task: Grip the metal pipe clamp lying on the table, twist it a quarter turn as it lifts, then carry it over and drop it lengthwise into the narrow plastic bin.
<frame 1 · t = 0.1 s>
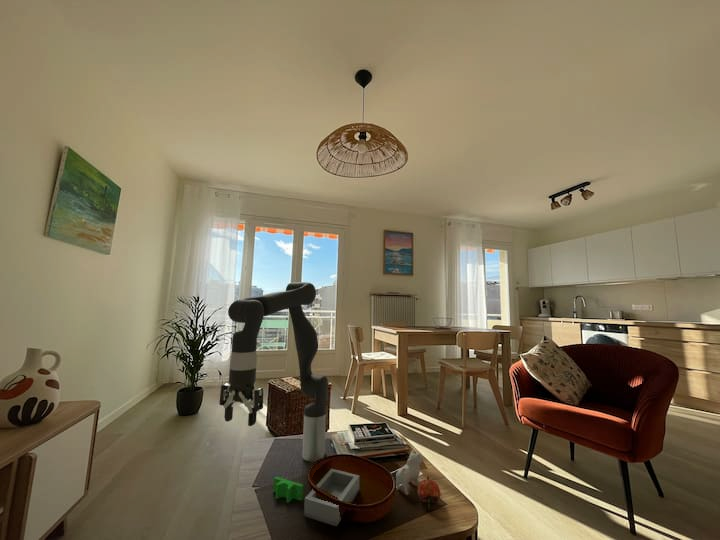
hand: (239, 422, 88), 29 cm above the table, tool pointing down, fingers open, 8 cm apart
dog figurine: (409, 486, 107), on the table
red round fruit: (429, 504, 98), on the table
bin: (333, 502, 97), on the table
cell phone: (401, 478, 112), on the table
pipe clamp: (285, 498, 99), on the table
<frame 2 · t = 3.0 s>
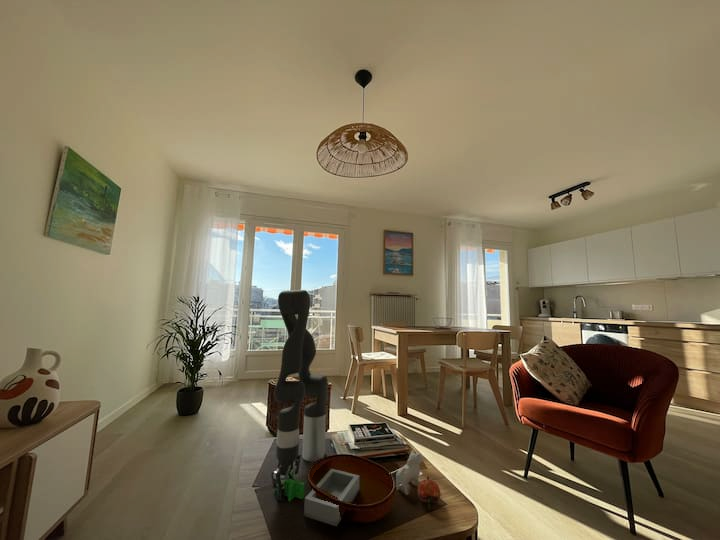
hand: (285, 494, 100), 0 cm above the table, tool pointing down, fingers open, 4 cm apart
pipe clamp: (286, 496, 100), on the table, touching gripper
everything else where it was.
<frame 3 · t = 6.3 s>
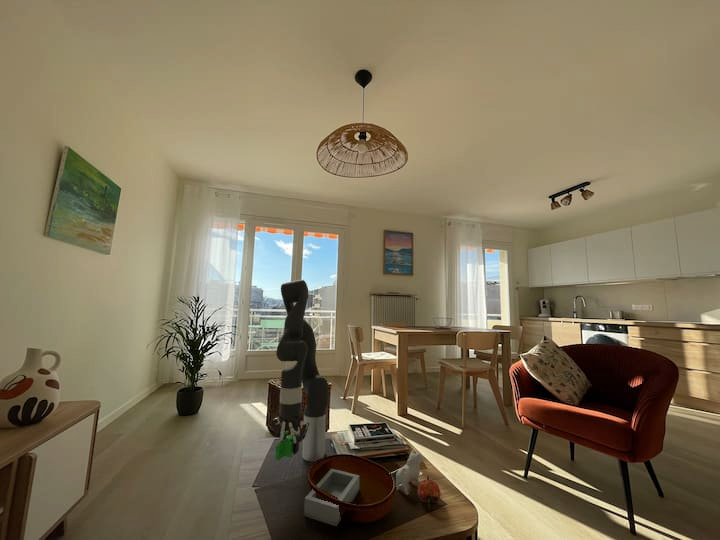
hand: (289, 451, 101), 14 cm above the table, tool pointing down, fingers closed on pipe clamp, 3 cm apart
pipe clamp: (289, 453, 101), point 14 cm above the table, touching gripper
everything else where it was.
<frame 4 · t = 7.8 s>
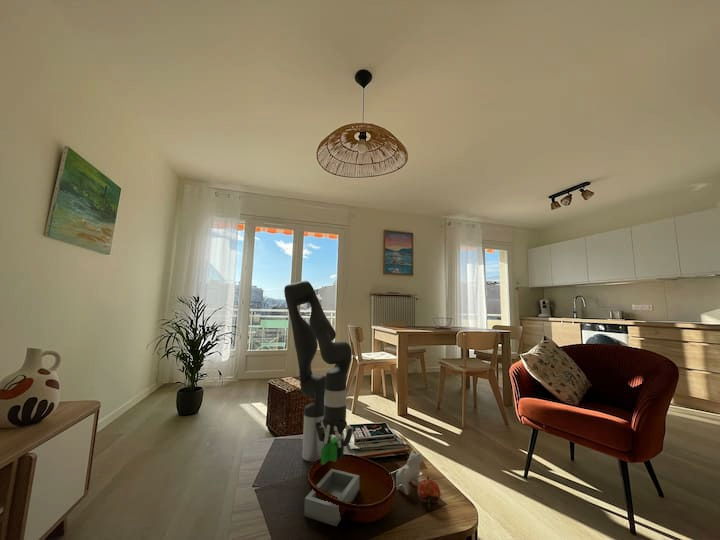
hand: (333, 456, 99), 14 cm above the table, tool pointing down, fingers closed on pipe clamp, 3 cm apart
pipe clamp: (333, 457, 99), point 14 cm above the table, touching gripper
everything else where it was.
when the fingers open (7 cm above the table, at t = 9.1 s): pipe clamp drops 5 cm, resting on bin.
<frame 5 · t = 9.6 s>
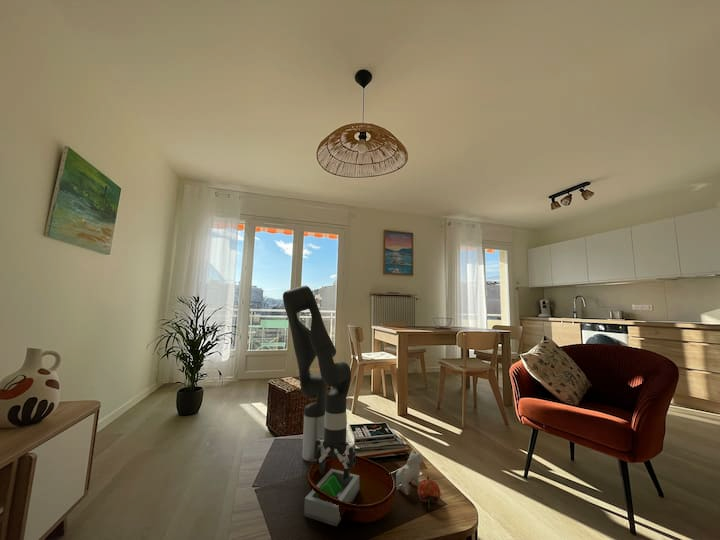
hand: (334, 476, 98), 8 cm above the table, tool pointing down, fingers open, 8 cm apart
pipe clamp: (334, 496, 97), point 2 cm above the table, touching bin
everything else where it was.
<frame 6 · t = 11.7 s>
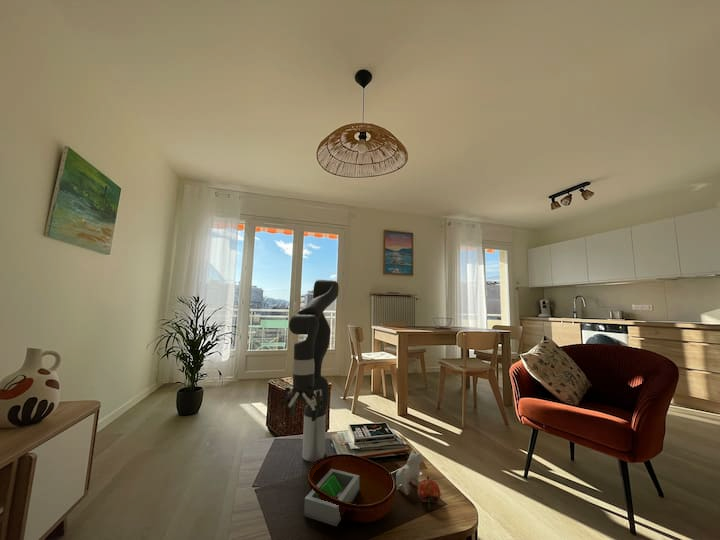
hand: (303, 418, 104), 24 cm above the table, tool pointing down, fingers open, 8 cm apart
nothing on the table moved.
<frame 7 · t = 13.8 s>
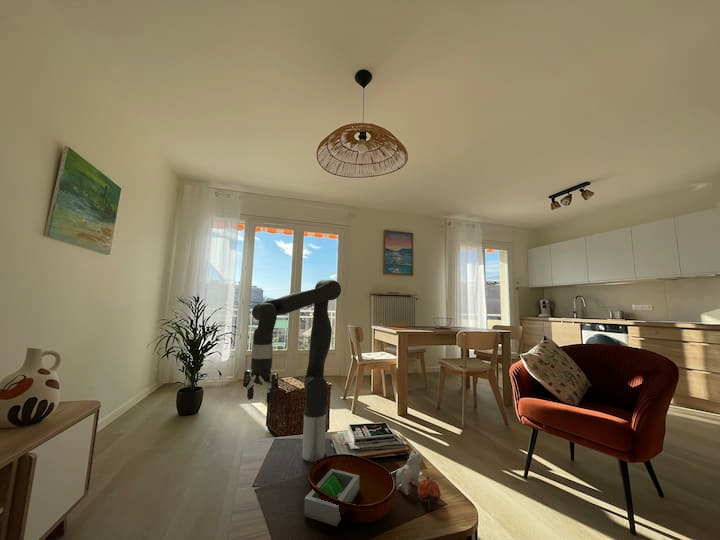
hand: (259, 400, 111), 28 cm above the table, tool pointing down, fingers open, 8 cm apart
nothing on the table moved.
at the end: pipe clamp inside the target area on the bin (0.4 cm from its centre), point 2.0 cm above the bin's base; the gripper is holding nothing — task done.
